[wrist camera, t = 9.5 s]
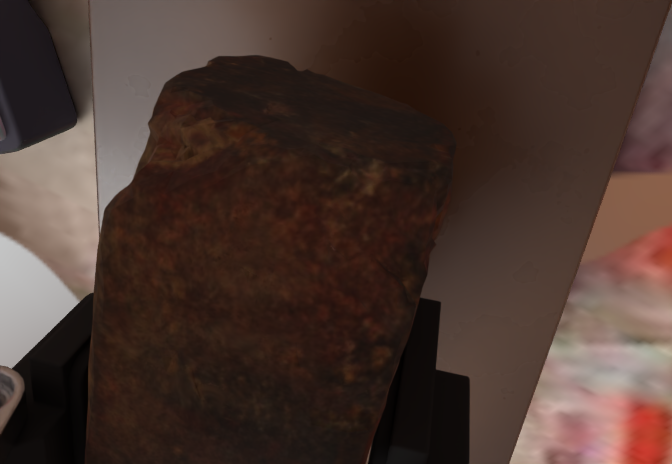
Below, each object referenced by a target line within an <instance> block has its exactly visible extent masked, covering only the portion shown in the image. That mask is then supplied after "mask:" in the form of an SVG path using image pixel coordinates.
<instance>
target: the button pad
mask: <svg viewBox="0 0 672 464" xmlns="http://www.w3.org/2000/svg"><path fill="white" fill-rule="evenodd" d="M76 123H77V115H76V112H75V109H74V106H73V103H72V100H71V97H70V94H69V91H68V88H67V85H66V82H65V79H64V76H63V73H62V70H61V67H60V64H59V61H58V58H57V55H56V52H55V49H54V46H53V43H52V40H51V36H50V34H49V31H48V29H47V27H46V26H45V25H44V23H43V22H42V21H41V19H40V18H39V17H38V15H37V14H36V13H35V11H34V10H33V9H32V7H31V6H30V4H29V2H28V0H0V154H4V153H11V152H16V151H19V150H22V149H24V148H27V147H29V146H31V145H34V144H36V143H38V142H41V141H43V140H46V139H48V138H50V137H53V136H55V135H57V134H60V133H62V132H64V131H67V130H69V129H71V128H73V127H74V126H75V125H76Z"/></svg>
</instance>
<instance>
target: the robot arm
mask: <svg viewBox="0 0 672 464" xmlns="http://www.w3.org/2000/svg"><path fill="white" fill-rule="evenodd" d="M93 297H94V293H90V294H89V295H87V296H86V297H85V298H84V299H83V300H82V301H81V302H80V303H78V304H77V305H76V306H75V307H74V308H73V309H72V310H71V311H70V312H69V313H68V314H67V315H66V316H65V317H64V318H63V319H62V320H61V321H60V322H59V323H58V324H57V325H56V326H55V327H54V328H53V329H52V330H51V331H50V332H49V333H48V334H47V335H46V336H45V337H44V338H43V339H42V340H41V341H40V342H39V343H38V344H37V345H36V346H35V347H34V348H33V349H31V350H30V351H29V353H27V354H26V355H25V356H24V357H23V358H22V359H21V360H20V361H19V362H18V363H17V364H16V365H15V366H14V367H13V368H12V369H11V368H9V367H6V366H0V464H84V463H85V448H86V425H87V411H88V364H89V353H90V344H91V333H92V322H93ZM440 311H441V302H440V301H435V300H431V299H426V298H421V297H420V299H419V303H418V307H417V310H416V314H415V317H414V321H413V325H412V328H411V332H410V335H409V338H408V341H407V343H406V345H405V348H404V350H403V353H402V355H401V357H400V361H399V365H398V367H397V370H396V373H395V375H394V378H393V380H392V383H391V385H390V388H389V391H388V396H387V401H386V406H385V409H384V411H383V414H382V417H381V419H380V422H379V425H378V427H377V429H376V432H375V435H374V438H373V441H372V444H371V450H370V455H369V460H368V464H469V458H470V379H469V377H468V376H463V375H459V374H455V373H450V372H446V371H441V370H437V369H436V360H437V348H438V336H439V324H440Z"/></svg>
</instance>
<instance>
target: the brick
mask: <svg viewBox="0 0 672 464" xmlns="http://www.w3.org/2000/svg"><path fill="white" fill-rule="evenodd" d="M148 126H149V130H150V135H149V138H148V141H147V144H146V147H145V150H144V152H143V154H142V156H141V158H140V160H139V163H138V166H137V169H136V172H135V174H134V177H133V180H132V181H131V183H130V184H129V185H128V186H127V187H125V188H124V189H122V190H121V191H120V192H119V193H117V194H116V195H115V196H114V197H113V199H112V200H111V201H110V203H109V204H108V205H107V207H106V208H105V209H104V214H103V220H102V226H101V232H100V238H99V244H98V251H97V262H96V273H95V285H94V297H93V322H92V333H91V344H90V353H89V364H88V411H87V425H86V448H85V463H84V464H366V461H367V458H368V454H369V451H370V447H371V444H372V441H373V438H374V435H375V432H376V429H377V427H378V425H379V422H380V419H381V417H382V414H383V411H384V409H385V406H386V401H387V396H388V391H389V388H390V385H391V383H392V380H393V378H394V375H395V373H396V370H397V367H398V365H399V361H400V357H401V355H402V353H403V350H404V348H405V345H406V343H407V341H408V338H409V335H410V332H411V328H412V325H413V321H414V317H415V314H416V310H417V307H418V303H419V299H420V295H421V292H422V288H423V285H424V282H425V280H426V277H427V275H428V266H429V258H430V252H431V251H432V250H433V248H434V247H435V246H436V243H435V242H434V240H435V239H436V237H437V236H438V235H439V233H440V230H441V228H442V225H443V222H444V219H445V216H446V213H447V209H448V206H449V203H450V200H451V194H452V181H453V161H454V155H455V150H456V145H457V142H456V140H455V138H454V135H453V133H452V132H451V131H450V130H449V129H448V128H447V127H446V126H445V125H444V124H443V123H441V122H439V121H437V120H435V119H433V118H431V117H429V116H427V115H425V114H423V113H421V112H419V111H417V110H415V109H414V108H412V107H411V106H409V105H408V104H405V103H400V102H398V101H395V100H393V99H390V98H388V97H385V96H383V95H380V94H377V93H374V92H372V91H369V90H366V89H363V88H360V87H357V86H354V85H351V84H348V83H345V82H342V81H339V80H336V79H333V78H331V77H328V76H326V75H323V74H316V73H314V72H312V71H310V70H308V69H306V70H304V71H298V70H297V69H296V68H295V67H294V66H292V65H291V64H290V63H289V62H288V61H283V60H279V59H275V58H271V57H267V56H262V55H246V56H217V57H216V58H214V59H212V60H209V61H208V63H207V65H206V66H205V67H202V68H197V69H192V70H187V71H183V72H181V73H179V74H178V75H176V76H174V77H173V78H171V79H170V80H169V81H167V82H166V83H165V84H164V86H163V89H162V91H161V93H160V95H159V97H158V99H157V102H156V104H155V106H154V109H153V112H152V118H151V119H150V120H149V122H148Z"/></svg>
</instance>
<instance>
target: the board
mask: <svg viewBox="0 0 672 464" xmlns="http://www.w3.org/2000/svg"><path fill="white" fill-rule="evenodd" d="M88 4H89V25H90V47H91V69H92V91H93V112H94V134H95V156H96V178H97V199H98V221H99V238H100V232H101V226H102V220H103V214H104V209H105V208H106V207H107V205H108V204H109V203H110V201H111V200H112V199H113V197H114V196H115V195H116V194H117V193H119V192H120V191H121V190H122V189H124V188H125V187H127V186H128V185H129V184H130V183H131V181H132V180H133V177H134V174H135V172H136V169H137V166H138V163H139V160H140V158H141V156H142V154H143V152H144V150H145V147H146V144H147V141H148V138H149V135H150V130H149V126H148V122H149V120H150V119H151V118H152V112H153V109H154V106H155V104H156V102H157V99H158V97H159V95H160V93H161V91H162V89H163V86H164V84H165V83H166V82H167V81H169V80H170V79H171V78H173V77H174V76H176V75H178V74H179V73H181V72H183V71H187V70H192V69H197V68H202V67H205V66H206V65H207V63H208V61H209V60H212V59H214V58H216V57H217V56H246V55H262V56H267V57H271V58H275V59H279V60H283V61H288V62H289V63H290V64H291V65H292V66H294V67H295V68H296V69H297V70H298V71H304V70H306V69H308V70H310V71H312V72H314V73H316V74H323V75H326V76H328V77H331V78H333V79H336V80H339V81H342V82H345V83H348V84H351V85H354V86H357V87H360V88H363V89H366V90H369V91H372V92H374V93H377V94H380V95H383V96H385V97H388V98H390V99H393V100H395V101H398V102H400V103H405V104H408V105H409V106H411V107H412V108H414V109H415V110H417V111H419V112H421V113H423V114H425V115H427V116H429V117H431V118H433V119H435V120H437V121H439V122H441V123H443V124H444V125H445V126H446V127H447V128H448V129H449V130H450V131H451V132H452V133H453V135H454V138H455V140H456V142H457V145H456V150H455V155H454V161H453V181H452V194H451V200H450V203H449V206H448V209H447V213H446V216H445V219H444V222H443V225H442V228H441V230H440V233H439V235H438V236H437V237H436V239H435V240H434V242H435V243H436V246H435V247H434V248H433V250H432V251H431V252H430V258H429V266H428V275H427V277H426V280H425V282H424V285H423V288H422V292H421V295H420V297H421V298H426V299H431V300H435V301H440V302H441V311H440V324H439V336H438V348H437V360H436V369H437V370H441V371H446V372H450V373H455V374H459V375H463V376H468V377H469V379H470V458H469V464H509V463H510V460H511V457H512V454H513V451H514V449H515V446H516V443H517V440H518V437H519V434H520V432H521V429H522V426H523V423H524V420H525V417H526V415H527V412H528V409H529V406H530V403H531V400H532V398H533V395H534V392H535V389H536V386H537V384H538V381H539V378H540V375H541V372H542V369H543V367H544V364H545V361H546V358H547V355H548V352H549V350H550V347H551V344H552V341H553V338H554V335H555V333H556V330H557V327H558V324H559V321H560V318H561V316H562V313H563V310H564V307H565V304H566V302H567V299H568V296H569V293H570V290H571V287H572V285H573V282H574V279H575V276H576V273H577V270H578V268H579V265H580V262H581V259H582V256H583V253H584V251H585V248H586V245H587V242H588V239H589V236H590V234H591V231H592V228H593V225H594V222H595V219H596V217H597V214H598V211H599V208H600V205H601V203H602V200H603V197H604V194H605V191H606V188H607V186H608V182H609V180H610V177H611V174H612V171H613V169H614V166H615V163H616V160H617V157H618V154H619V152H620V149H621V146H622V143H623V140H624V137H625V135H626V132H627V129H628V126H629V123H630V120H631V118H632V115H633V112H634V109H635V106H636V104H637V101H638V98H639V95H640V92H641V89H642V87H643V84H644V81H645V78H646V75H647V72H648V70H649V67H650V64H651V61H652V58H653V55H654V53H655V50H656V47H657V44H658V41H659V38H660V36H661V33H662V30H663V27H664V24H665V21H666V19H667V16H668V13H669V10H670V7H671V5H672V0H88ZM370 450H371V447H370ZM369 455H370V451H369V454H368V458H367V461H366V464H368V460H369Z"/></svg>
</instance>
